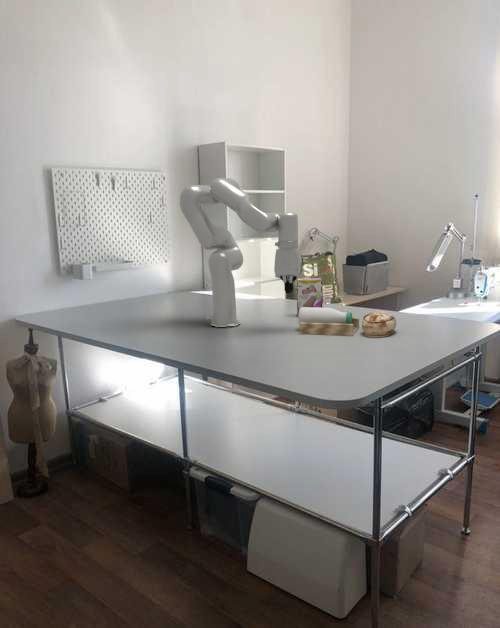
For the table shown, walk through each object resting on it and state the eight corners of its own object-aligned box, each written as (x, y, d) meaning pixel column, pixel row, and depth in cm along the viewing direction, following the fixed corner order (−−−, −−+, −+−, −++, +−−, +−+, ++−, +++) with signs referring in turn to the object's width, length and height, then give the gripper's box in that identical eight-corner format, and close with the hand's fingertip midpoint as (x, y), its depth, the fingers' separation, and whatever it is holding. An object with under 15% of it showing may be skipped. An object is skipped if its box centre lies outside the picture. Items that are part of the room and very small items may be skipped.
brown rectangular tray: (299, 333, 203) (299, 323, 202) (309, 326, 216) (309, 316, 215) (352, 335, 196) (352, 325, 195) (359, 327, 209) (359, 317, 208)
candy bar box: (297, 317, 236) (296, 280, 233) (297, 314, 241) (296, 278, 238) (322, 316, 235) (322, 279, 232) (322, 314, 240) (321, 277, 237)
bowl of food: (391, 328, 206) (391, 308, 204) (403, 336, 191) (403, 315, 190) (356, 330, 205) (356, 309, 204) (366, 338, 191) (365, 317, 189)
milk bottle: (297, 327, 207) (349, 328, 200) (297, 307, 207) (349, 308, 200) (302, 326, 214) (353, 327, 207) (303, 306, 214) (353, 307, 207)
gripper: (266, 246, 205) (267, 293, 208) (304, 246, 199) (304, 294, 203) (272, 244, 212) (273, 290, 215) (309, 244, 206) (309, 291, 210)
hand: (288, 292), depth 209 cm, fingers closed
